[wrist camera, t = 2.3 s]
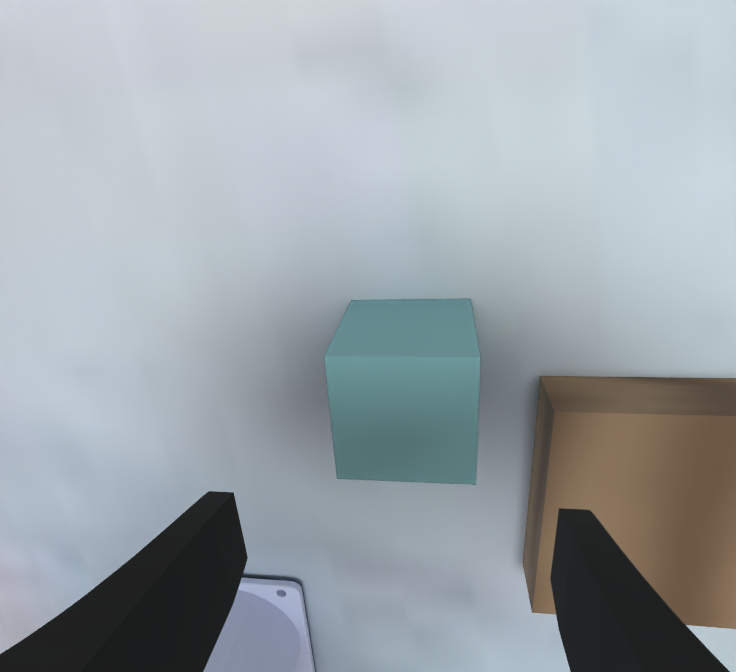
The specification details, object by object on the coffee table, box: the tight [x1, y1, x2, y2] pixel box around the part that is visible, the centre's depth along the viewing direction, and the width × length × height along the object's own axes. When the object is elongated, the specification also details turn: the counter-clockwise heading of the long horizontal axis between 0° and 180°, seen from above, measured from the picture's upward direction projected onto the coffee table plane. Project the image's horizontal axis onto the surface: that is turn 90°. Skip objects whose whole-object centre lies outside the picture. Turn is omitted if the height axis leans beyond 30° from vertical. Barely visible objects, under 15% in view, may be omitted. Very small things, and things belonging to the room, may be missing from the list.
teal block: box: [324, 299, 481, 485], centre depth 17 cm, size 4×4×5 cm
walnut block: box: [523, 376, 736, 629], centre depth 19 cm, size 10×10×3 cm
